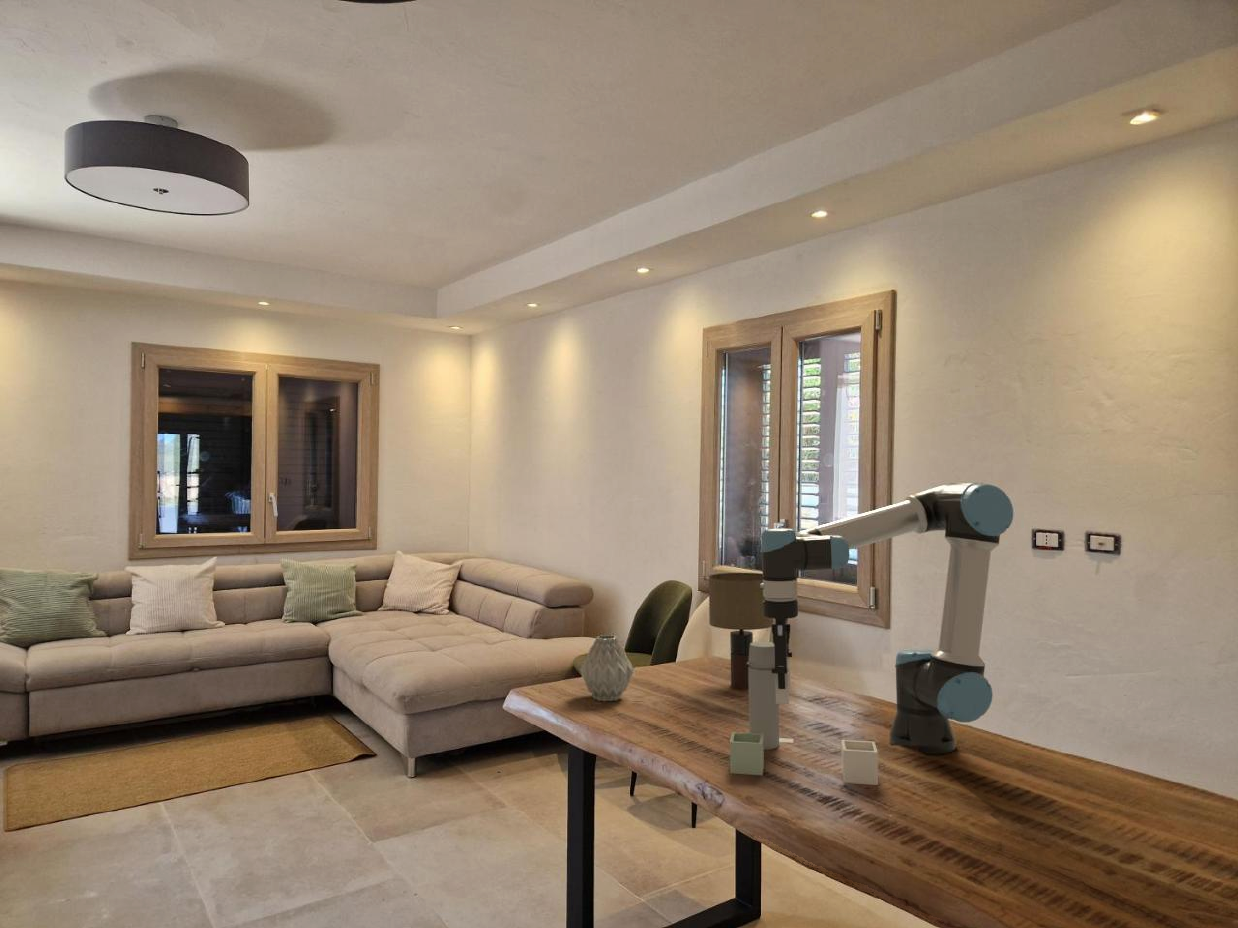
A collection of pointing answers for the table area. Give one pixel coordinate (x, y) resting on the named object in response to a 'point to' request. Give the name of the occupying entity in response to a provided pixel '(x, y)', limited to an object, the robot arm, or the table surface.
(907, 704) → the robot arm
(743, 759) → the sage open box
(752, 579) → the lamp
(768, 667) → the water bottle
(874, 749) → the cream open box
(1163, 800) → the table surface
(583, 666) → the vase
